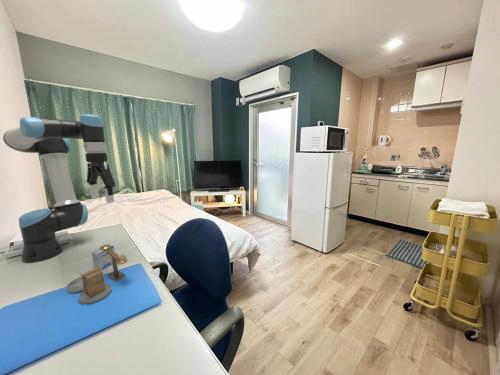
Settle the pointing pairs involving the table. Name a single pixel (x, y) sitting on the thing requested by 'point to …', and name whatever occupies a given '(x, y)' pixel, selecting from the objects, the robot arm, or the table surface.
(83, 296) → the dish
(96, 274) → the block
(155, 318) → the table surface
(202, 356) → the table surface
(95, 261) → the medicine box
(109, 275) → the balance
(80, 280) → the dish
